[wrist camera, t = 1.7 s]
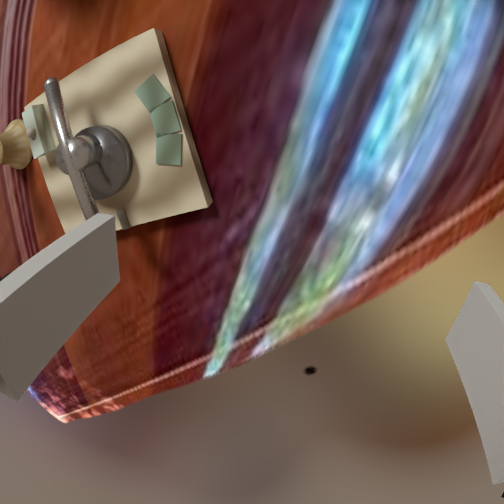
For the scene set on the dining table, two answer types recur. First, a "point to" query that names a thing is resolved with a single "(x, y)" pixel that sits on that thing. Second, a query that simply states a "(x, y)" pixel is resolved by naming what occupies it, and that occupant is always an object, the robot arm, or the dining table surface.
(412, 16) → the dining table surface
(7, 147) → the hand bell
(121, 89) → the stand
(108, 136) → the lever
